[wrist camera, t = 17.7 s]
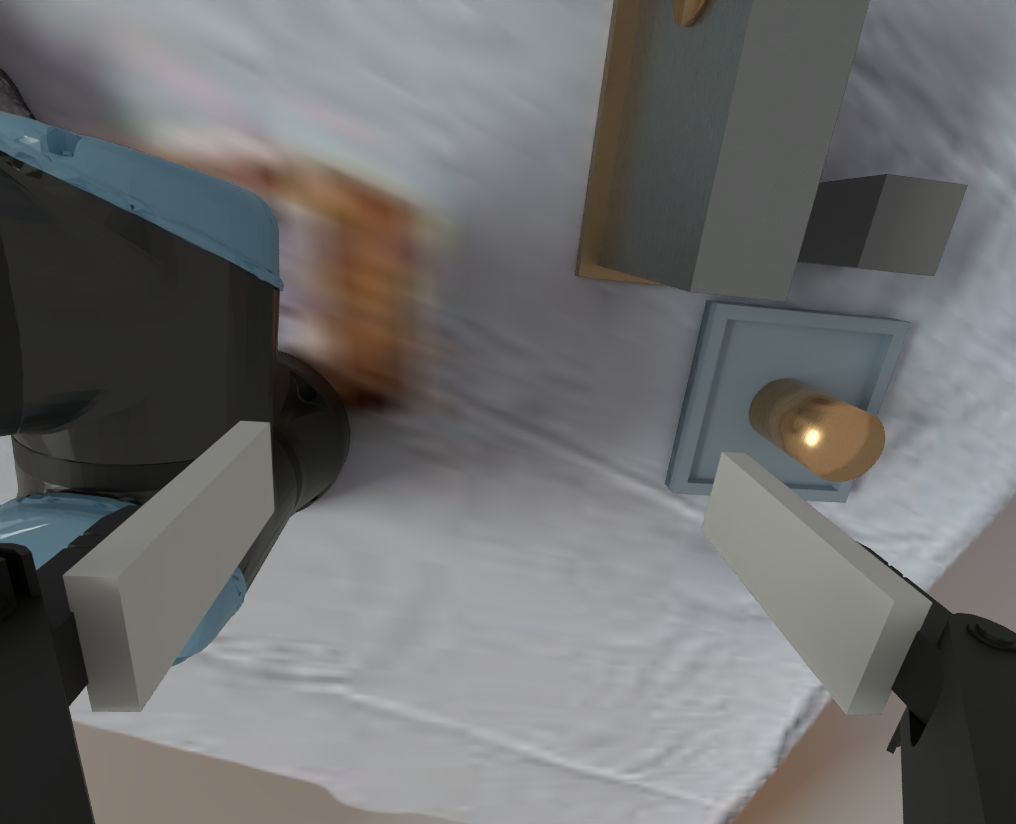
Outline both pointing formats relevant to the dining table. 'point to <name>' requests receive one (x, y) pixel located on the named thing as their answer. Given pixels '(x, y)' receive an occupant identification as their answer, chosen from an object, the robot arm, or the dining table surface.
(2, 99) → the geode
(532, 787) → the dining table surface
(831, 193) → the charcoal block
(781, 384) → the copper cylinder
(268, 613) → the dining table surface
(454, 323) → the dining table surface
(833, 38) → the box
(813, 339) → the slate tray
